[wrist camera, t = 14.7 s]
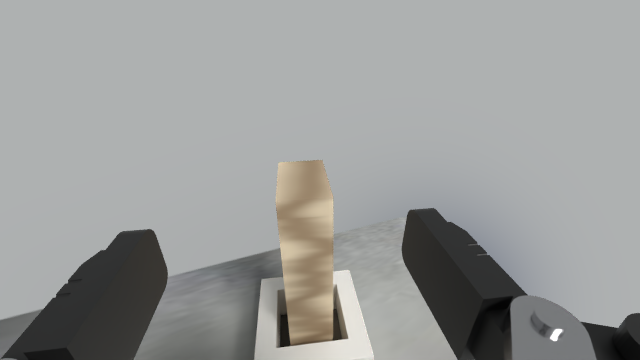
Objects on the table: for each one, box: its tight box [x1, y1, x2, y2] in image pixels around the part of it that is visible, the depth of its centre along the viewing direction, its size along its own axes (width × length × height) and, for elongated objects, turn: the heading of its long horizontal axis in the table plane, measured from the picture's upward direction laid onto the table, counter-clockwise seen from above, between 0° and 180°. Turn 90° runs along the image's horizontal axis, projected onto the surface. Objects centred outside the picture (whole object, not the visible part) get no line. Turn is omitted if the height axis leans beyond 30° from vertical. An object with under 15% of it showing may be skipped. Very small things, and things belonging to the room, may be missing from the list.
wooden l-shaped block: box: [276, 160, 333, 346], centre depth 26 cm, size 4×7×18 cm, turn 6°
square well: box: [254, 270, 374, 360], centre depth 28 cm, size 10×10×4 cm
